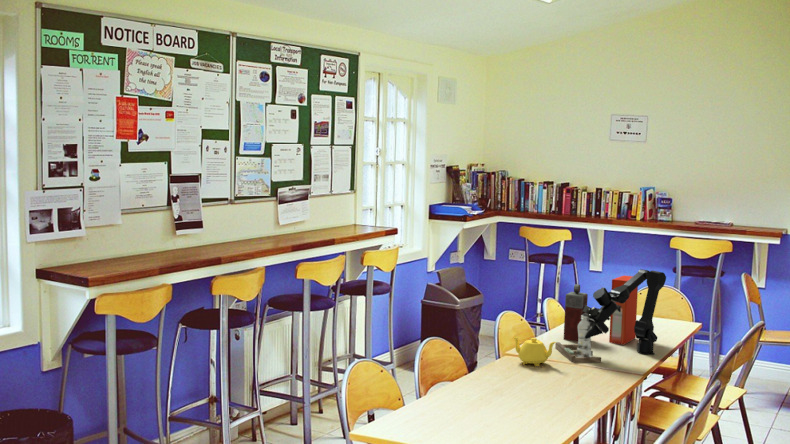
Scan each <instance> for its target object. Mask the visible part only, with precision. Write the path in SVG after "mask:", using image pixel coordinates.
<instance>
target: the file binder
mask: <svg viewBox="0 0 790 444" xmlns="http://www.w3.org/2000/svg"><path fill="white" fill-rule="evenodd" d="M633 276H634V275H633ZM633 276H631V275H621V276H618V277H616V278H612V279H611V290H613V289H614V288H616V287H619V286H622V285H624V284H625V283H626V282H627V281H628V280H630V279H631V278H632V277H633ZM638 291H639V286H638V287H637V288H636V289H634V290H633V291H632V292H631V293H630V296H629V298H628V299H627V300H626V302H625V303H623V304H622V303H618V302H615V303H616V304H617V305H619V306H621V308H620V309H621V312H618V311H617V310H616V311H615V312H614V313H613V314H612V315H611V316H610V317H609V318H610V320H609V340H608V343H611V344H616V345H617V344H618V345H623V346H624V345H626V344H627V343H630V342H631V341H633V340H635V339H636V335H635V332H634V326H635V322H636V320H637V317H638V316H637V314H638V313H637V312H638V311H637V310H638V296H639V295H638V294H639V292H638Z"/></svg>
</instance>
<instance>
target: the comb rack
mask: <svg viewBox="0 0 790 444" xmlns="http://www.w3.org/2000/svg"><path fill="white" fill-rule="evenodd" d="M555 342H556V343H554V344H555V350H557V351H558V353H560V354H561V355H562V356H564V358H566V359H568V361H569V362H570V363H602V357H601V356H593V353H594V352H593V350H591V353H592V354H591V357H578V356H577V348H578V343H577V344H573V343H572V344H567V343H565V344H563V343H561V342H558V341H555Z"/></svg>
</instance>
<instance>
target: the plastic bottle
mask: <svg viewBox="0 0 790 444" xmlns="http://www.w3.org/2000/svg"><path fill="white" fill-rule="evenodd" d="M581 319H582V320H581V321H580V323H579V324H578V342H577V344H578V348H577V349H576V351H577V356H576V357H592V356H591V354H592V353H591V351H592V347H591V344H592V342H591V340H592V337H590V338H587V339H586V338H585V336H586V334H587V333H588V332H589V331H590V329H591V328H592V325H591V323H590V321H589V320H590V314H589V315H581Z"/></svg>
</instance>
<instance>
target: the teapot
mask: <svg viewBox="0 0 790 444" xmlns="http://www.w3.org/2000/svg"><path fill="white" fill-rule="evenodd" d="M512 338H514V340H515V342H514V343H515V344H514V345H515V348H514V349H515V351H516V353H517V354H518V355H517V356H518V358H519V360H520V362H522V365H523V364H527V365H528V364H533V365H534V367H536V366H539V367H540V366H541V364H540V363H543V364H544V363H545V362H547V360H548V358H550V356H552V353H553V346H554V344H556V342H557V341H553V342H550V343H549V344H548V345H549V346H548V349H547V347H546V346H545V344H544V342H543V341H541V340H540V339H538V338H536V337H530V339H526V340H525V341H524V342H523V343H522V344H521V345H520V342H519V341H520V340H519V339H518V337H517V336H515V335H512Z"/></svg>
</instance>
